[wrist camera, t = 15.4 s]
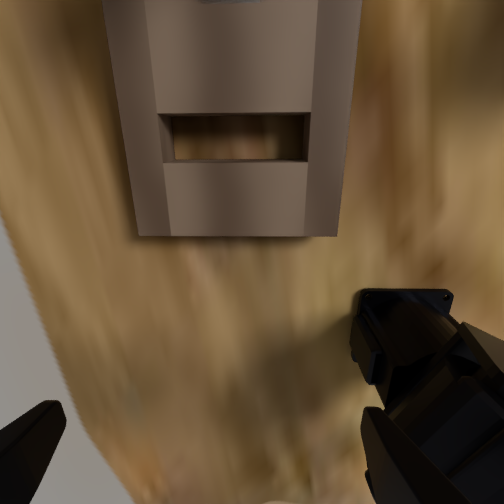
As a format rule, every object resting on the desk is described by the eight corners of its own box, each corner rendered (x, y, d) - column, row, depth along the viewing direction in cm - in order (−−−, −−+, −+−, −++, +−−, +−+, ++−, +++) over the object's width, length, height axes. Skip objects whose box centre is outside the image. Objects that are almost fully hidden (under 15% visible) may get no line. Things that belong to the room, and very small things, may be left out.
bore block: (378, -309, 12) (407, -420, 9) (328, 224, 20) (336, 236, 17) (81, -293, 12) (38, -396, 10) (152, 224, 20) (138, 235, 18)
